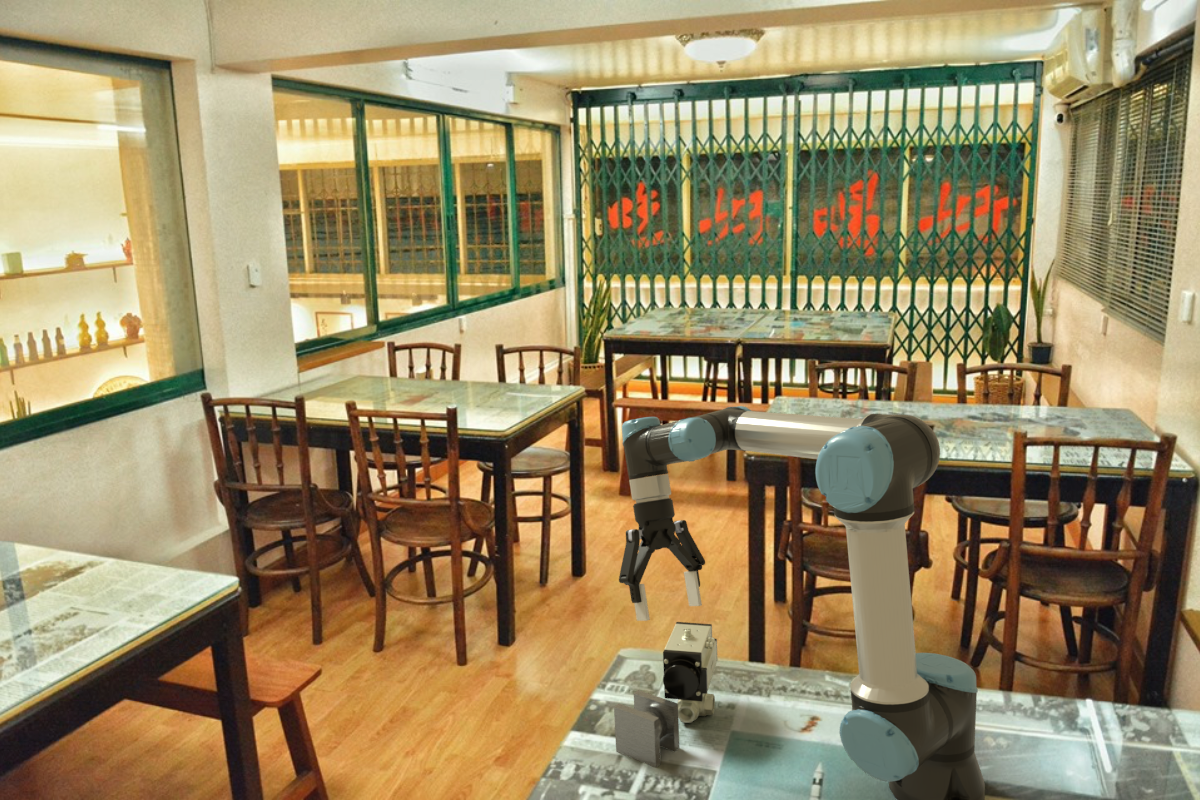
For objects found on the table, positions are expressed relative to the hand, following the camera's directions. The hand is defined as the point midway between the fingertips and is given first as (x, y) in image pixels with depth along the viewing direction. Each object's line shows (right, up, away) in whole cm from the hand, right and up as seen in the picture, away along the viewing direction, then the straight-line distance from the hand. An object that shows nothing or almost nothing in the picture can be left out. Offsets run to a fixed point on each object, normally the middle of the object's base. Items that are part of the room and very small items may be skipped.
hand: (670, 613), depth 173 cm
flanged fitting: (-4, -25, -1) cm, 25 cm away
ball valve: (+6, -22, +11) cm, 25 cm away
